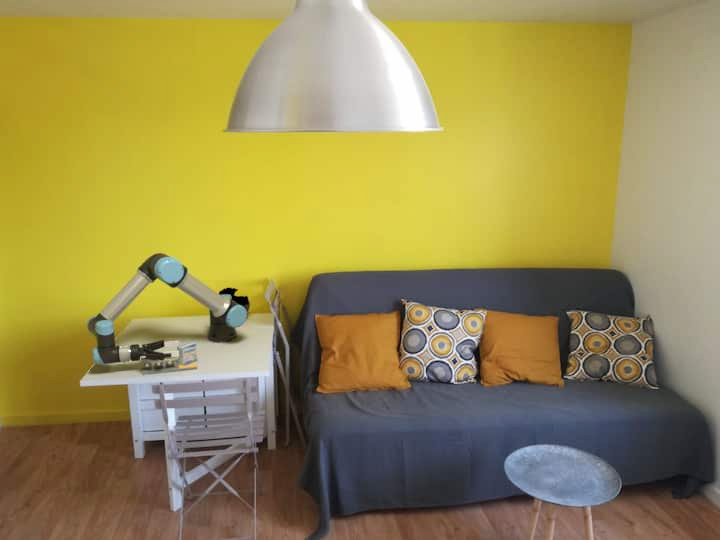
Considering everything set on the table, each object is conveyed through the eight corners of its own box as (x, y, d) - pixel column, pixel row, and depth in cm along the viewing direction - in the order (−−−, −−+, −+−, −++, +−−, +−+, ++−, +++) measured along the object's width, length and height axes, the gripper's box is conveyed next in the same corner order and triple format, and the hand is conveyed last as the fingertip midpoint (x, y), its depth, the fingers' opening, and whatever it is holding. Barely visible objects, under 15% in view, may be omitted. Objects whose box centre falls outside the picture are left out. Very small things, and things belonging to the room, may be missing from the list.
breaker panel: (196, 359, 295) (196, 353, 294) (197, 369, 283) (197, 363, 282) (143, 364, 288) (143, 358, 288) (142, 375, 276) (141, 368, 275)
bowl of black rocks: (235, 313, 366) (233, 282, 362) (258, 319, 354) (256, 288, 350) (208, 321, 351) (206, 289, 347) (230, 328, 339) (228, 295, 335)
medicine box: (184, 366, 283) (182, 348, 281) (177, 363, 286) (176, 346, 284) (197, 360, 289) (196, 343, 287) (191, 358, 292) (190, 341, 290)
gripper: (132, 351, 291) (179, 346, 297) (129, 371, 268) (179, 365, 274) (131, 336, 289) (178, 332, 295) (127, 354, 266) (178, 350, 272)
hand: (179, 348), depth 284 cm, fingers open, 13 cm apart
